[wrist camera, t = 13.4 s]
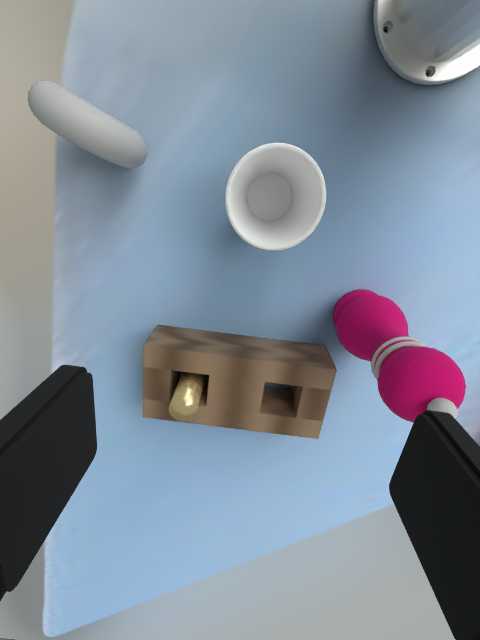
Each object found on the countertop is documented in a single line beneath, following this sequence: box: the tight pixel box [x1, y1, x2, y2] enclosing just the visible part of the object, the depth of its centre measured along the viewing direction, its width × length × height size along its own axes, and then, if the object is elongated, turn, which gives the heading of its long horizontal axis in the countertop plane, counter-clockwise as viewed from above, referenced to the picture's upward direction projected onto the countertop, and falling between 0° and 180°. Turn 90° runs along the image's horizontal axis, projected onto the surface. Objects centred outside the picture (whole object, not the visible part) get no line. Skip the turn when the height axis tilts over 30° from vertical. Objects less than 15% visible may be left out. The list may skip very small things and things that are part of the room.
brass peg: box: [169, 372, 206, 421], centre depth 39 cm, size 3×3×10 cm
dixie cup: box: [225, 143, 326, 251], centre depth 30 cm, size 8×8×11 cm
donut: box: [28, 80, 147, 168], centre depth 29 cm, size 10×4×10 cm, turn 60°
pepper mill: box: [333, 290, 466, 422], centre depth 30 cm, size 7×7×20 cm
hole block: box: [143, 325, 337, 439], centre depth 41 cm, size 22×10×6 cm, turn 83°
